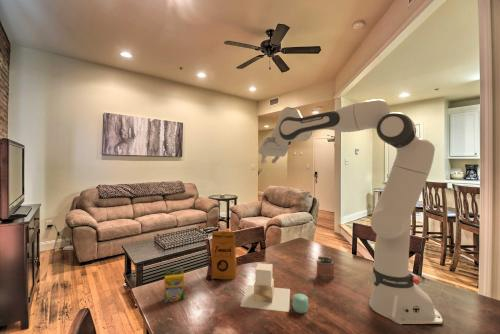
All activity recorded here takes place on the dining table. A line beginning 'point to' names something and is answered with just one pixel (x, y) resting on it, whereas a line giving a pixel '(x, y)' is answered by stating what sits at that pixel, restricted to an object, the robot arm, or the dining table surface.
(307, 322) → the dining table surface
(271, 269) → the white block
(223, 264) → the coffee package
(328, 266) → the lighter
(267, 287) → the maple block
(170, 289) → the crayon box
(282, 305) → the white flat board
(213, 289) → the dining table surface
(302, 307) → the teal rounded cube
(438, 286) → the dining table surface
